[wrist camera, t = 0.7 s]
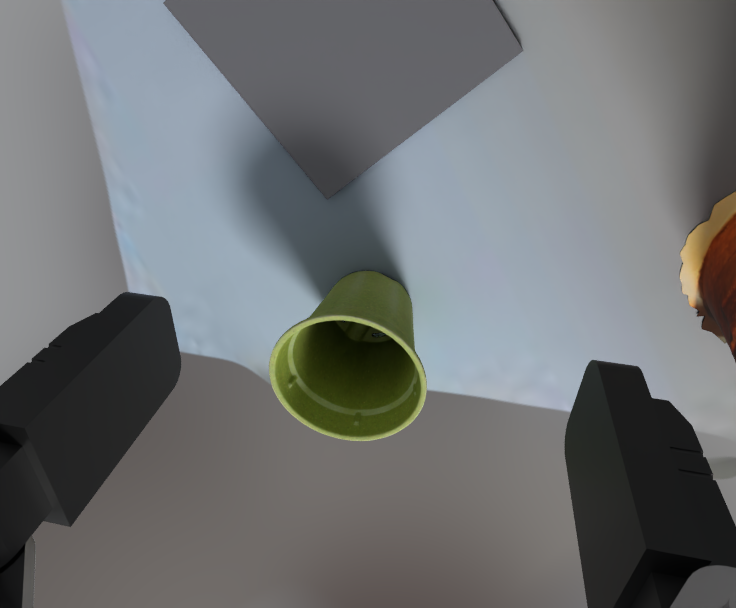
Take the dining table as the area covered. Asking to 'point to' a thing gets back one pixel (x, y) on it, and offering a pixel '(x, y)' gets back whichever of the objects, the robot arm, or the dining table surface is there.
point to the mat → (348, 69)
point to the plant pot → (352, 362)
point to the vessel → (713, 271)
